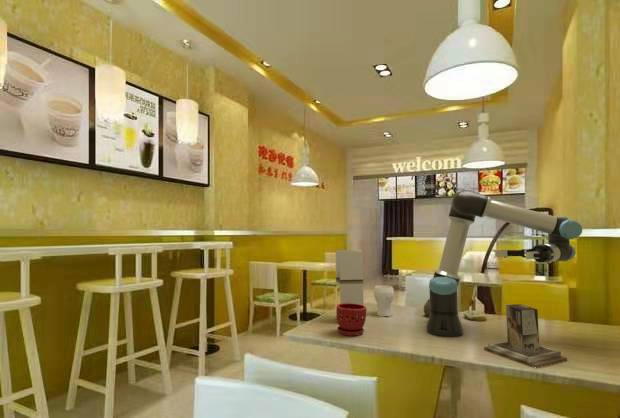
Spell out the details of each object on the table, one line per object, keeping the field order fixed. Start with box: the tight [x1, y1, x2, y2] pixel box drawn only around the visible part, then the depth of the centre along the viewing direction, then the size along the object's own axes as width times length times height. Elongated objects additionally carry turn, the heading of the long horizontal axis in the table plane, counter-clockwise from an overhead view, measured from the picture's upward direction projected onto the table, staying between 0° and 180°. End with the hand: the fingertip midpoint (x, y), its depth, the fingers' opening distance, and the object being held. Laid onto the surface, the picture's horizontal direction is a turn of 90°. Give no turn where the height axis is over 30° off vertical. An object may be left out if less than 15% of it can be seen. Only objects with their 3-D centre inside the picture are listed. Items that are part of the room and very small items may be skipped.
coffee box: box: [505, 303, 540, 356], centre depth 128 cm, size 9×6×16 cm
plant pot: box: [336, 303, 367, 336], centre depth 157 cm, size 13×13×12 cm
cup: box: [373, 285, 395, 317], centre depth 190 cm, size 11×11×15 cm
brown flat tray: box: [483, 340, 568, 369], centre depth 127 cm, size 20×16×2 cm
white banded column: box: [335, 249, 364, 320], centre depth 179 cm, size 11×11×35 cm
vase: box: [423, 298, 430, 318], centre depth 186 cm, size 7×7×9 cm
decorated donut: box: [462, 309, 487, 322], centre depth 181 cm, size 10×11×4 cm
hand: (510, 254), depth 142 cm, fingers open, 13 cm apart
